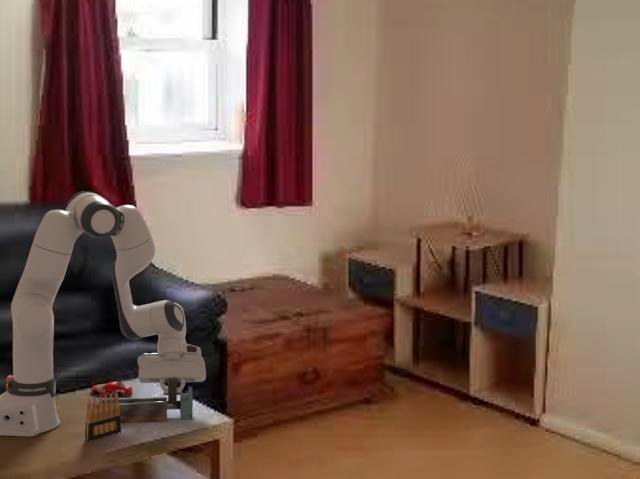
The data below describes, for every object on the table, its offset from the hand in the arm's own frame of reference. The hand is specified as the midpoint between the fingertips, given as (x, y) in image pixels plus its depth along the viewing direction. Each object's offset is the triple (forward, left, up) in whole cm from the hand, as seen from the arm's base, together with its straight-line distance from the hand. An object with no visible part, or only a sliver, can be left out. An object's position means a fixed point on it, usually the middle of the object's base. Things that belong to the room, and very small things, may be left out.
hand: (172, 394), depth 293 cm
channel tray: (-13, +1, -7) cm, 14 cm away
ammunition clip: (-20, -13, -7) cm, 25 cm away
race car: (-19, +22, -8) cm, 30 cm away
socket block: (+4, +1, -7) cm, 8 cm away
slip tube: (-3, +1, -5) cm, 6 cm away
